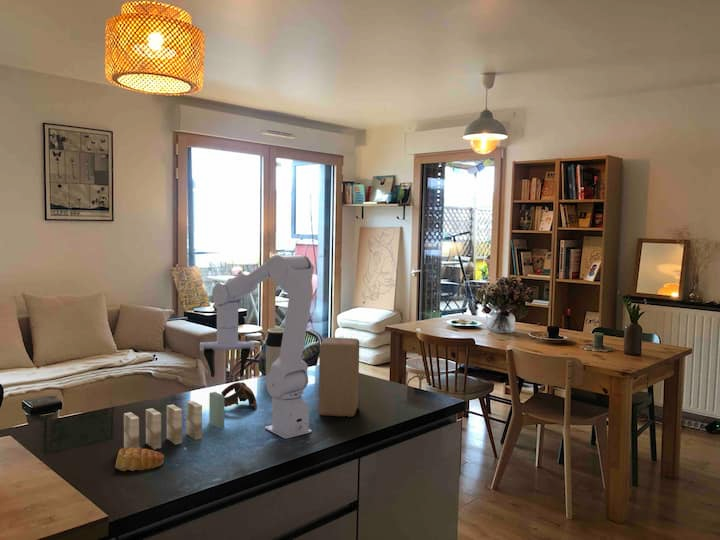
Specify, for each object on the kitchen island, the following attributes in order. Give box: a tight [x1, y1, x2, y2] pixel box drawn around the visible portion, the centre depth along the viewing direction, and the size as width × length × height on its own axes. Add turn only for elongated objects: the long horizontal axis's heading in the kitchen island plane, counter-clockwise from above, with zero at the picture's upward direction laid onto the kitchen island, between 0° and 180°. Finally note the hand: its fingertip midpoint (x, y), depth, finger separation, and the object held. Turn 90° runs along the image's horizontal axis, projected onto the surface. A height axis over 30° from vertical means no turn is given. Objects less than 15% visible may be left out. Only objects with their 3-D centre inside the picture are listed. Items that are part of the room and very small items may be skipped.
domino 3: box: [166, 404, 183, 445], centre depth 138 cm, size 5×2×8 cm, turn 41°
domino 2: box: [145, 408, 162, 450], centre depth 135 cm, size 5×2×8 cm, turn 41°
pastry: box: [114, 446, 165, 472], centre depth 124 cm, size 9×7×4 cm
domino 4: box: [186, 400, 203, 441], centre depth 142 cm, size 5×2×8 cm, turn 41°
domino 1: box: [123, 411, 140, 449], centre depth 132 cm, size 5×2×8 cm, turn 41°
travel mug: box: [265, 327, 284, 378], centre depth 190 cm, size 8×8×18 cm
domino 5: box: [208, 391, 225, 429], centre depth 150 cm, size 5×2×8 cm, turn 41°
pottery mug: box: [221, 381, 258, 410], centre depth 165 cm, size 12×10×8 cm
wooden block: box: [318, 337, 360, 418], centre depth 163 cm, size 10×10×20 cm
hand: (227, 375), depth 161 cm, fingers open, 7 cm apart
